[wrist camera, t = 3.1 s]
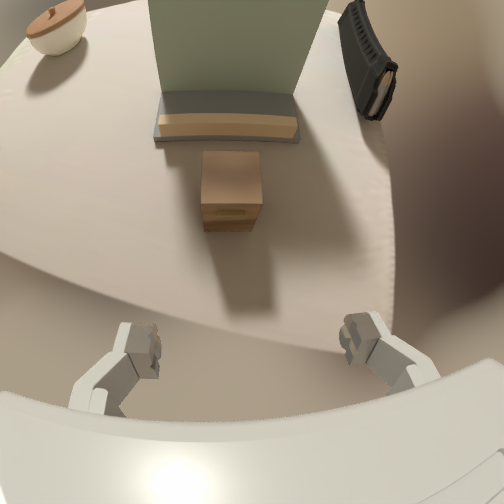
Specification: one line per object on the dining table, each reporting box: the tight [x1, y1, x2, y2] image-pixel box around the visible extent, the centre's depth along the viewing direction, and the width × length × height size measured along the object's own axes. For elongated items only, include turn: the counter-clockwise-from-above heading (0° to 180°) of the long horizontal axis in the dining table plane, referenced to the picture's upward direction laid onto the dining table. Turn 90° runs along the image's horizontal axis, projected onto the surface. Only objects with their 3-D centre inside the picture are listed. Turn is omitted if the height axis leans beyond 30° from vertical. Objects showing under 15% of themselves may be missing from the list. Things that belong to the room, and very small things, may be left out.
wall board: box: [148, 0, 329, 143], centre depth 23 cm, size 10×18×21 cm, turn 92°
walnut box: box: [201, 151, 263, 232], centre depth 27 cm, size 6×5×8 cm
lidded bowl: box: [25, 0, 87, 56], centre depth 29 cm, size 13×13×11 cm
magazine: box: [338, 0, 398, 121], centre depth 35 cm, size 17×3×30 cm
